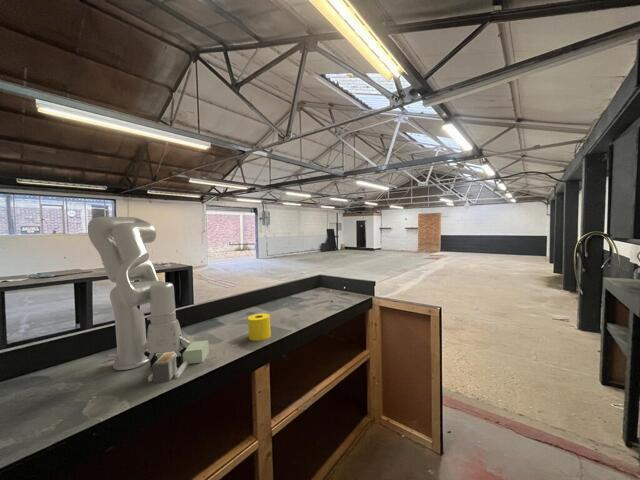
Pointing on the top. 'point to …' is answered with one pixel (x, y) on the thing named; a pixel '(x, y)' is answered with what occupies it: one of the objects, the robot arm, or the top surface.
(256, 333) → the tape roll
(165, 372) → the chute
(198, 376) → the top surface
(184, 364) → the green box with window
